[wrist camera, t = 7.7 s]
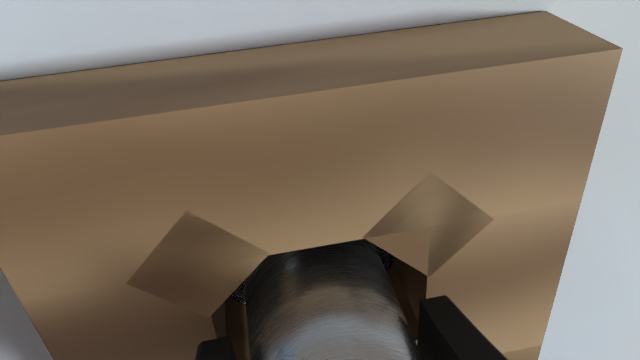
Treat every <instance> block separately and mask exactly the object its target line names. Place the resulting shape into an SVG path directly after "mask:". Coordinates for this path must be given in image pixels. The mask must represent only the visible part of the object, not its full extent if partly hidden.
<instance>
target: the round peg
mask: <svg viewBox="0 0 640 360" xmlns="http://www.w3.org/2000/svg"><path fill="white" fill-rule="evenodd" d="M244 287H245V300H246V313H247V326H248V339H249V352H250V360H423V359H422V356H421V354H420V351H419V349H418V347H417V344H416V342H415V339H414V337H413V335H412V332H411V330H410V327H409V325H408V323H407V320H406V318H405V316H404V313H403V311H402V308H401V306H400V304H399V301H398V299H397V296H396V294H395V292H394V289H393V287H392V284H391V282H390V280H389V277H388V275H387V273H386V270H385V268H384V265H383V263H382V261H381V258H380V256H379V253H378V251H377V249H376V246H375V244H373V243H371V242H370V241H368V240H366V239H359V240H353V241H348V242H342V243H336V244H330V245H325V246H319V247H313V248H307V249H302V250H296V251H290V252H284V253H279V254H273V255H268V256H267V257H266V258H265V259H264V260H263V261H262V262H261V263H260V264H259V265H258V266H257V268H256V269H255V270H254V271H253V272H252V273H251V274H250V275H249V276H248V277H247V278H246V279H245V280H244Z"/></svg>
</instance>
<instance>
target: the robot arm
mask: <svg viewBox="0 0 640 360" xmlns="http://www.w3.org/2000/svg"><path fill="white" fill-rule="evenodd" d="M417 347H418V349H419V351H420V354H421V356H422V359H423V360H508V359H507V358H506V357H505V356H504V355H503V354H502V353H501V352H500V351H499V350H498V349H497V348H496V347H495V346H494V345H493V344H492V343H491V342H490V341H489V340H488V339H487V338H486V337H485V336H484V335H483V334H482V333H481V332H480V331H479V330H478V329H477V327H476V326H475V325H474V324H473V323H472V322H471V321H470V320H469V319H468V318H467V317H466V316H465V315H464V314H463V312H462V311H461V310H460V309H459V308H458V307H457V306H456V305H455V304H454V302H453V301H452V300H451V299H450V298H449V297H447V296H446V295H443V296H438V297H433V298H428V299H422V300H420V304H419V321H418V339H417ZM195 360H236V356H235V353H234V349H233V345H232V341H231V337H230V336H227V337H222V338H217V339H212V340H206V341H202V342H201V343H200V344H199V345H198V348H197V353H196V358H195Z"/></svg>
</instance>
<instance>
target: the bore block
mask: <svg viewBox="0 0 640 360" xmlns="http://www.w3.org/2000/svg"><path fill="white" fill-rule="evenodd" d="M622 49H623V48H621V47H619V46H617V45H614V44H612V43H610V42H608V41H606V40H604V39H602V38H600V37H598V36H596V35H594V34H592V33H590V32H588V31H586V30H584V29H582V28H580V27H578V26H576V25H574V24H571V23H569V22H567V21H565V20H563V19H561V18H559V17H557V16H555V15H553V14H551V13H549V12H547V11H542V12H534V13H526V14H518V15H511V16H503V17H495V18H487V19H480V20H472V21H464V22H456V23H449V24H441V25H433V26H425V27H418V28H410V29H402V30H394V31H387V32H379V33H371V34H363V35H356V36H348V37H340V38H332V39H325V40H317V41H309V42H301V43H294V44H286V45H278V46H270V47H263V48H255V49H247V50H239V51H232V52H224V53H216V54H209V55H201V56H193V57H185V58H178V59H170V60H162V61H154V62H147V63H139V64H131V65H123V66H116V67H108V68H100V69H92V70H85V71H77V72H69V73H61V74H54V75H46V76H38V77H30V78H23V79H15V80H7V81H0V268H1V270H2V271H3V273H4V275H5V277H6V278H7V280H8V282H9V283H10V285H11V287H12V289H13V290H14V292H15V294H16V295H17V297H18V299H19V301H20V302H21V304H22V306H23V307H24V309H25V311H26V313H27V314H28V316H29V318H30V319H31V321H32V323H33V325H34V326H35V328H36V330H37V331H38V333H39V335H40V337H41V338H42V340H43V342H44V344H45V345H46V347H47V349H48V350H49V352H50V354H51V356H52V357H53V359H54V360H195V358H196V353H197V348H198V345H199V344H200V343H201V342H202V341H206V340H212V339H217V338H222V337H227V336H230V337H231V341H232V345H233V349H234V353H235V356H236V360H250V352H249V339H248V326H247V313H246V305H245V304H243V303H241V302H238V301H236V300H234V299H231V298H229V296H230V295H231V294H232V293H233V292H234V291H235V290H236V289H237V288H238V287H239V286H240V284H241V283H242V282H243V281H244V280H245V279H246V278H247V277H248V276H249V275H250V274H251V273H252V272H253V271H254V270H255V269H256V268H257V266H258V265H259V264H260V263H261V262H262V261H263V260H264V259H265V258H266V257H267V256H268V255H273V254H279V253H284V252H290V251H296V250H302V249H307V248H313V247H319V246H325V245H330V244H336V243H342V242H348V241H353V240H359V239H366V240H368V241H370V242H371V243H373V244H375V245H376V246H378V247H380V248H382V249H383V250H385V251H387V252H388V253H390V254H392V255H393V266H392V267H391V268H390V269H389V270H387V271H386V273H387V275H388V277H389V280H390V282H391V284H392V287H393V289H394V292H395V294H396V296H397V299H398V301H399V304H400V306H401V308H402V311H403V313H404V316H405V318H406V320H407V323H408V325H409V327H410V330H411V332H412V335H413V337H414V339H415V342H416V344H417V339H418V321H419V304H420V300H422V299H428V298H433V297H438V296H443V295H446V296H447V297H449V298H450V299H451V300H452V301H453V302H454V304H455V305H456V306H457V307H458V308H459V309H460V310H461V311H462V312H463V314H464V315H465V316H466V317H467V318H468V319H469V320H470V321H471V322H472V323H473V324H474V325H475V326H476V327H477V329H478V330H479V331H480V332H481V333H482V334H483V335H484V336H485V337H486V338H487V339H488V340H489V341H490V342H491V343H492V344H493V345H494V346H495V347H496V348H497V349H498V350H499V351H500V352H501V353H502V354H503V355H504V356H505V357H506V358H507V359H508V360H538V357H539V353H540V350H541V346H542V342H543V339H544V335H545V331H546V328H547V324H548V320H549V317H550V313H551V309H552V306H553V302H554V298H555V295H556V291H557V287H558V284H559V280H560V276H561V273H562V269H563V265H564V262H565V258H566V254H567V251H568V247H569V243H570V240H571V236H572V232H573V229H574V225H575V221H576V218H577V214H578V210H579V207H580V203H581V199H582V196H583V192H584V188H585V185H586V181H587V177H588V174H589V170H590V166H591V163H592V159H593V155H594V152H595V148H596V144H597V140H598V137H599V133H600V129H601V126H602V122H603V118H604V115H605V111H606V107H607V104H608V100H609V96H610V93H611V89H612V85H613V82H614V78H615V74H616V71H617V67H618V63H619V60H620V56H621V52H622Z"/></svg>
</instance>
